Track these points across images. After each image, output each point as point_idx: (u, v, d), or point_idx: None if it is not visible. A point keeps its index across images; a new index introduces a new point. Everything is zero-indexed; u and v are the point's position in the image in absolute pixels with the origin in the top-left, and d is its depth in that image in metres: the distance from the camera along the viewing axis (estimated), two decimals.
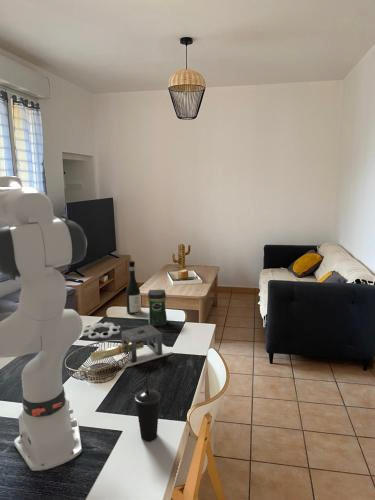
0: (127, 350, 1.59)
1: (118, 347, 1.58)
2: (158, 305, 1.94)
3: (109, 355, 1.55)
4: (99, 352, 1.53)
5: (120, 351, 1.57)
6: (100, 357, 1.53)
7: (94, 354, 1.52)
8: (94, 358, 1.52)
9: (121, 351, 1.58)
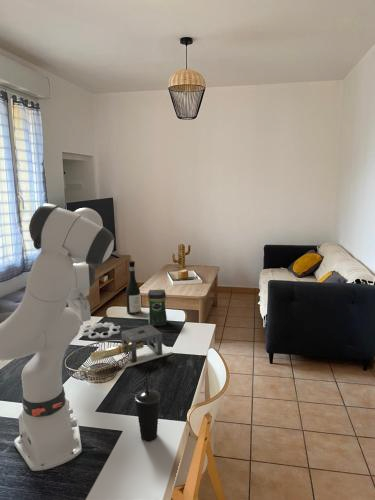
0: (127, 350, 1.59)
1: (118, 347, 1.58)
2: (158, 305, 1.94)
3: (109, 355, 1.55)
4: (99, 352, 1.53)
5: (120, 351, 1.57)
6: (100, 357, 1.53)
7: (94, 354, 1.52)
8: (94, 358, 1.52)
9: (121, 351, 1.58)
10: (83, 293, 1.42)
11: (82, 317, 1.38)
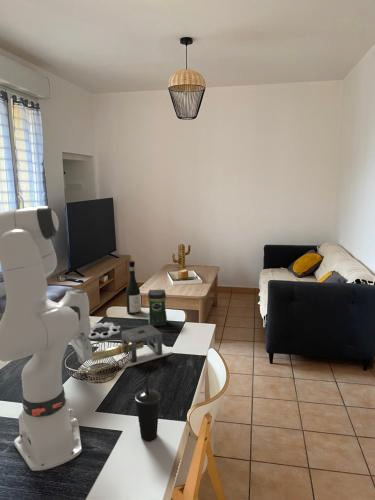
0: (127, 350, 1.59)
1: (118, 347, 1.58)
2: (158, 305, 1.94)
3: (109, 355, 1.55)
4: (99, 352, 1.53)
5: (120, 351, 1.57)
6: (100, 357, 1.53)
7: (94, 354, 1.52)
8: (94, 358, 1.52)
9: (121, 351, 1.58)
10: (85, 332, 1.45)
11: (84, 357, 1.41)
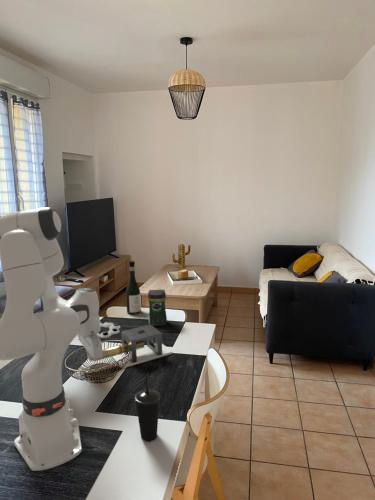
0: (128, 350, 1.59)
1: (119, 347, 1.58)
2: (158, 305, 1.94)
3: (110, 355, 1.55)
4: None
5: (121, 351, 1.57)
6: (101, 357, 1.53)
7: None
8: None
9: (122, 351, 1.58)
10: (95, 330, 1.47)
11: (94, 354, 1.43)
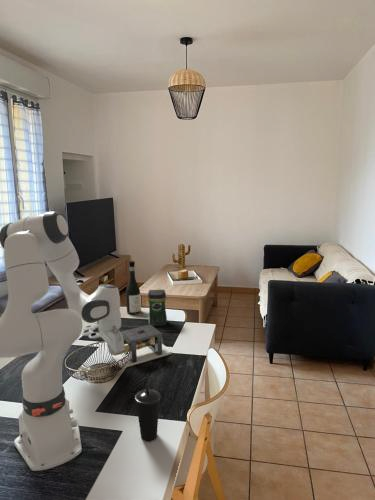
0: (147, 345, 1.64)
1: (138, 342, 1.62)
2: (158, 305, 1.94)
3: None
4: None
5: (140, 345, 1.62)
6: (122, 351, 1.58)
7: None
8: None
9: (141, 346, 1.62)
10: (116, 325, 1.52)
11: (116, 349, 1.47)
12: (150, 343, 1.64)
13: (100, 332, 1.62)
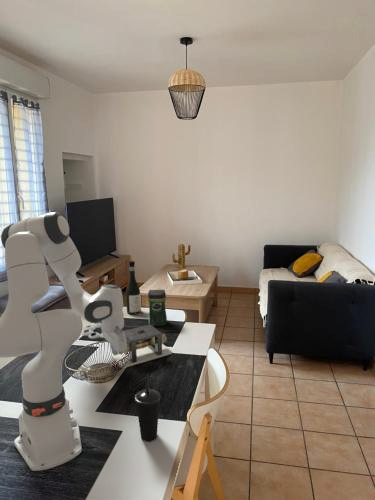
0: (151, 343, 1.65)
1: (143, 340, 1.63)
2: (158, 305, 1.94)
3: None
4: None
5: (145, 344, 1.63)
6: None
7: None
8: None
9: (146, 344, 1.63)
10: (119, 326, 1.52)
11: (119, 349, 1.47)
12: (154, 342, 1.65)
13: (103, 332, 1.62)
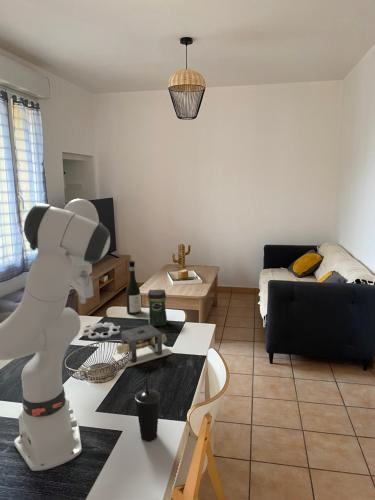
0: (151, 343, 1.65)
1: (143, 340, 1.63)
2: (158, 305, 1.94)
3: None
4: (125, 345, 1.59)
5: (145, 344, 1.63)
6: (126, 350, 1.59)
7: (120, 347, 1.58)
8: (121, 351, 1.58)
9: (146, 344, 1.63)
10: (86, 271, 1.44)
11: (85, 293, 1.39)
12: (154, 342, 1.65)
13: (71, 281, 1.54)
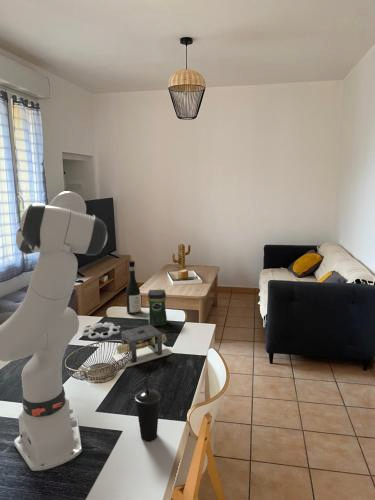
0: (151, 343, 1.65)
1: (143, 340, 1.63)
2: (158, 305, 1.94)
3: None
4: (125, 345, 1.59)
5: (145, 344, 1.63)
6: (126, 350, 1.59)
7: (120, 347, 1.58)
8: (121, 351, 1.58)
9: (146, 344, 1.63)
10: None
11: None
12: (154, 342, 1.65)
13: None
